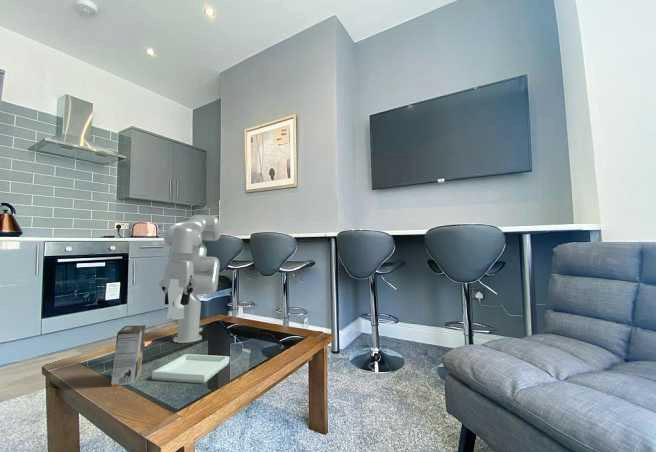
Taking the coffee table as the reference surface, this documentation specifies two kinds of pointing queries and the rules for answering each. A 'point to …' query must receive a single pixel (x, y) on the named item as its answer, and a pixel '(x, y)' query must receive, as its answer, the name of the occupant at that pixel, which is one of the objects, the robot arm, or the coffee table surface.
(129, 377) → the coffee box
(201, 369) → the tray
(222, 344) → the coffee table surface
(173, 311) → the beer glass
